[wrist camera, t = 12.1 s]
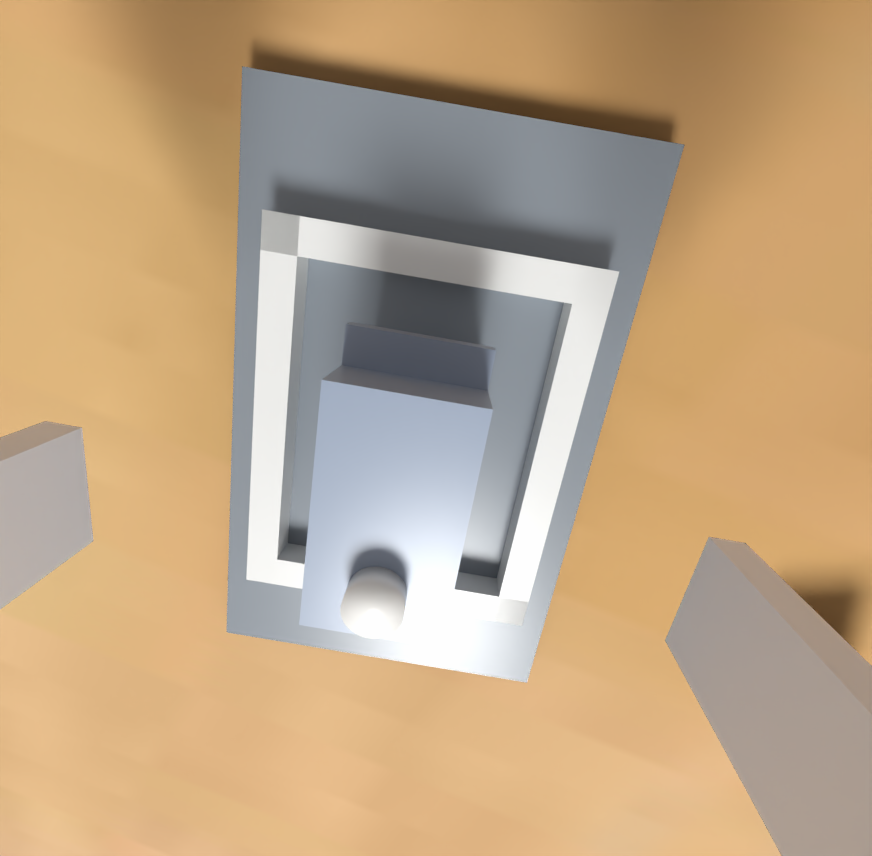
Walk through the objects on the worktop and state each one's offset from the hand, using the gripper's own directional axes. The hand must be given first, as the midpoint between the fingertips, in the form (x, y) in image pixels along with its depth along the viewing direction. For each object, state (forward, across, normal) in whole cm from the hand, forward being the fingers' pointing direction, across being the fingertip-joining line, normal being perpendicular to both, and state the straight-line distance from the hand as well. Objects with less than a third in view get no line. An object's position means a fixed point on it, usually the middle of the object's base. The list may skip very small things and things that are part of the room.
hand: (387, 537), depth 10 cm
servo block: (+8, 0, -1) cm, 8 cm away
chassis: (+9, 0, -1) cm, 9 cm away
